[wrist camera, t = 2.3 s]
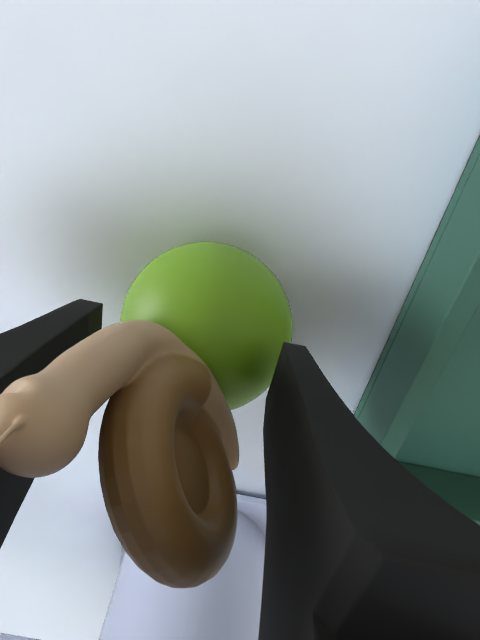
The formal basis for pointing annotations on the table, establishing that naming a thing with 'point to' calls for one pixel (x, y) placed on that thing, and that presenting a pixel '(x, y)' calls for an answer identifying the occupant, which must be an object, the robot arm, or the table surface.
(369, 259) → the table surface
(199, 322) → the googly-eyed toy snail
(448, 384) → the tray
